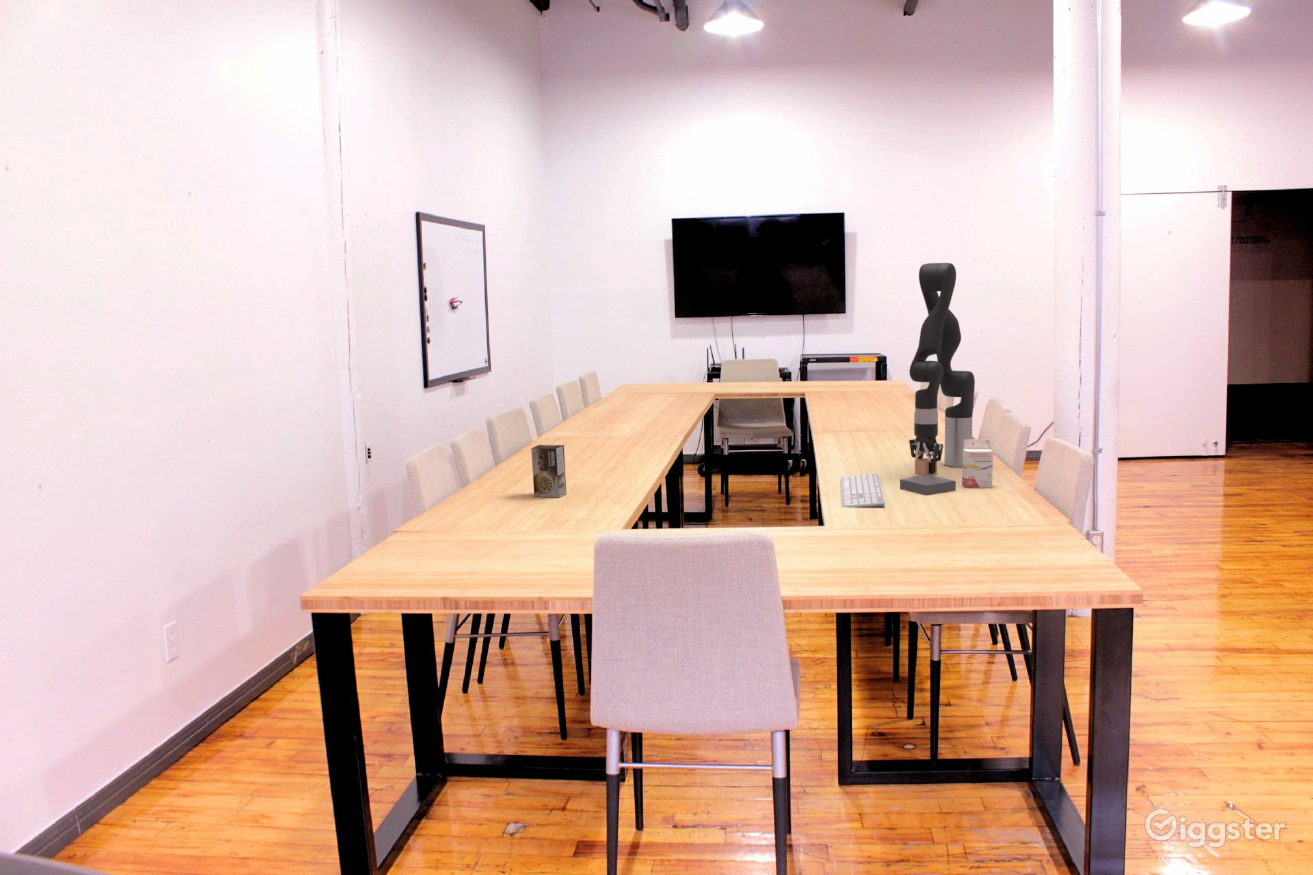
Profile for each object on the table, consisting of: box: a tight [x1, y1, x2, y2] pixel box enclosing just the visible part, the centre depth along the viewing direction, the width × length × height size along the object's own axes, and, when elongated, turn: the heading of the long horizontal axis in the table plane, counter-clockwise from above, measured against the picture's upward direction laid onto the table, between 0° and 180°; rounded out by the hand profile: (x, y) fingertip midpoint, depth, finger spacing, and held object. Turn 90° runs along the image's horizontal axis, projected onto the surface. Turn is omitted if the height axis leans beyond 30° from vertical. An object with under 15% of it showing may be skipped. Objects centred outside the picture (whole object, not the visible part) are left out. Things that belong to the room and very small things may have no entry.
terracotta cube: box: [914, 457, 938, 477], centre depth 335 cm, size 5×5×5 cm
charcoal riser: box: [899, 475, 957, 496], centre depth 318 cm, size 12×12×3 cm
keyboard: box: [840, 473, 886, 508], centre depth 318 cm, size 44×12×2 cm, turn 170°
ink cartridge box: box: [961, 438, 994, 488], centre depth 320 cm, size 9×5×15 cm, turn 84°
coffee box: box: [530, 444, 567, 498], centre depth 326 cm, size 9×6×16 cm
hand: (925, 472), depth 335 cm, fingers closed on terracotta cube, 5 cm apart
